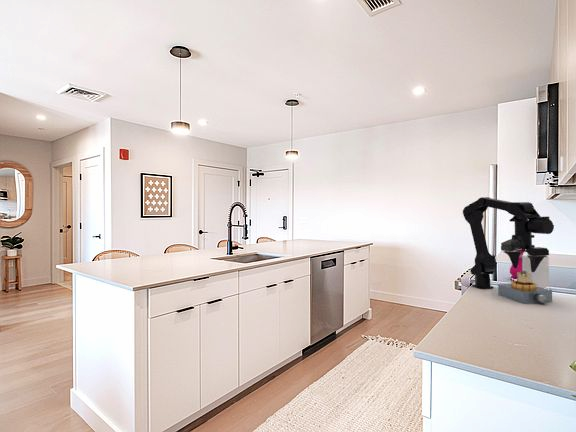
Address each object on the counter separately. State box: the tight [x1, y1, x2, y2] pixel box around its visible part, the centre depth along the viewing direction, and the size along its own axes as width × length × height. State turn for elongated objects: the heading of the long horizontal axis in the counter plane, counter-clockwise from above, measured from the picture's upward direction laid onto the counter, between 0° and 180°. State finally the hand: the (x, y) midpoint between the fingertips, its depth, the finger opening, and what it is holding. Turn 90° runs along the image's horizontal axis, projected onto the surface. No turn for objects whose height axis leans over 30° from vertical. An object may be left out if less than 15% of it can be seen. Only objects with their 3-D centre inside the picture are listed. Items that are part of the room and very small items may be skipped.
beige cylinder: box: [517, 271, 530, 285], centre depth 136 cm, size 4×4×7 cm
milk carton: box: [522, 252, 550, 288], centre depth 150 cm, size 7×7×19 cm
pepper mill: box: [509, 248, 525, 279], centre depth 166 cm, size 7×7×20 cm
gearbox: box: [497, 280, 553, 305], centre depth 135 cm, size 17×12×6 cm
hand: (523, 270), depth 136 cm, fingers open, 9 cm apart
